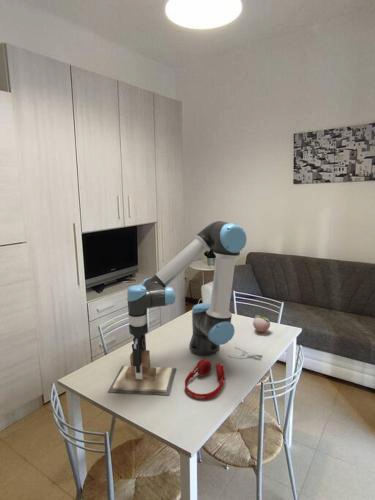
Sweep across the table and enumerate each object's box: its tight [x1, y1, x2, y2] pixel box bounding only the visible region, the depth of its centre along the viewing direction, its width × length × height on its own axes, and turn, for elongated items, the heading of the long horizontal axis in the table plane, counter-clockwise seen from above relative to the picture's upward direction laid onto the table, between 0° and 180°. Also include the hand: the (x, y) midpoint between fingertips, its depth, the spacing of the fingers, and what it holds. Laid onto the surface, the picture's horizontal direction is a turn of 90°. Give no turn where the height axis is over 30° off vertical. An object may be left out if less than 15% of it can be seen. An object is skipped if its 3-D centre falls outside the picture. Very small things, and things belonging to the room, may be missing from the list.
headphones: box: [184, 358, 226, 401], centre depth 135 cm, size 15×7×20 cm
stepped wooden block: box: [125, 349, 156, 381], centre depth 139 cm, size 12×5×11 cm, turn 84°
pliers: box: [227, 346, 263, 361], centre depth 158 cm, size 10×2×15 cm
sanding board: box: [107, 365, 177, 397], centre depth 140 cm, size 25×19×2 cm
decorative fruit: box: [252, 315, 271, 333], centre depth 181 cm, size 9×8×10 cm
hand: (140, 374), depth 140 cm, fingers closed on stepped wooden block, 5 cm apart
